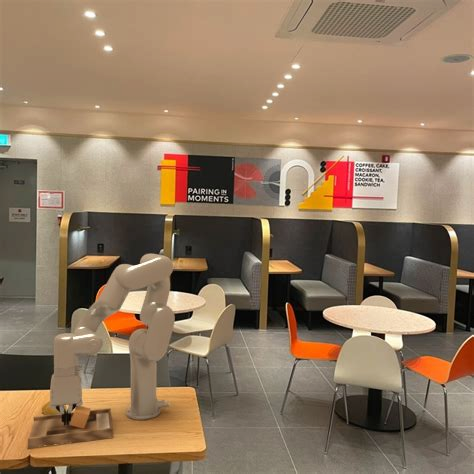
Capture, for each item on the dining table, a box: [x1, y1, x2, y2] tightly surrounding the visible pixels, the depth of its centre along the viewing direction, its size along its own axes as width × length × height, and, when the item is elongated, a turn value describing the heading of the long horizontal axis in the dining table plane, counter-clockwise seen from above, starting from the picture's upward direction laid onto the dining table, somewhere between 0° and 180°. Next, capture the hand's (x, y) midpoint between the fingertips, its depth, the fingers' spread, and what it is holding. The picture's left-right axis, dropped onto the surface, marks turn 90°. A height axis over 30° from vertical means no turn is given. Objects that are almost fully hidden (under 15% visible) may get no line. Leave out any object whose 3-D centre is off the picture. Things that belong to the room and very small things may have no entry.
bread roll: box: [41, 400, 67, 416], centre depth 176 cm, size 8×9×4 cm
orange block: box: [70, 405, 91, 429], centre depth 160 cm, size 5×5×5 cm
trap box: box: [27, 407, 114, 450], centre depth 160 cm, size 26×17×3 cm, turn 108°
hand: (66, 423), depth 160 cm, fingers closed
